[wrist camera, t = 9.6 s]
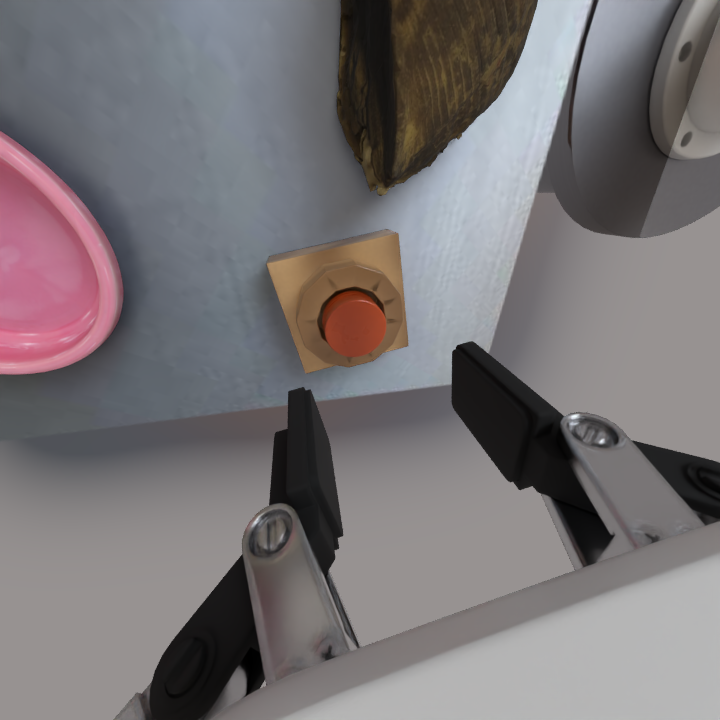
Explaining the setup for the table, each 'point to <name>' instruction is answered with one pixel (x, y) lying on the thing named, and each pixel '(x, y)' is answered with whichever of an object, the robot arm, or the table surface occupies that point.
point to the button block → (334, 276)
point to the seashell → (421, 76)
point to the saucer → (50, 269)
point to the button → (353, 324)
